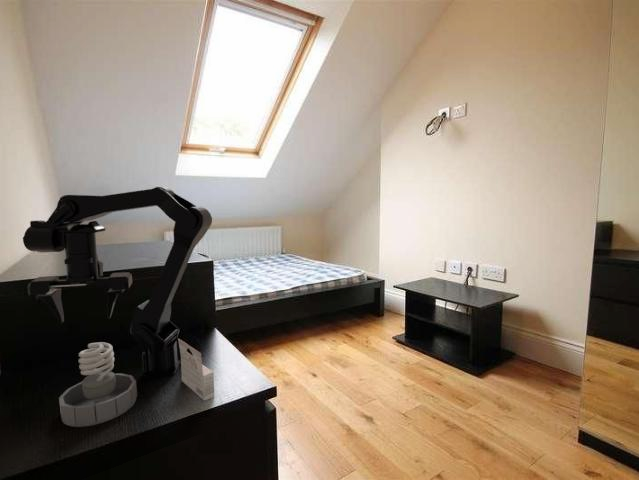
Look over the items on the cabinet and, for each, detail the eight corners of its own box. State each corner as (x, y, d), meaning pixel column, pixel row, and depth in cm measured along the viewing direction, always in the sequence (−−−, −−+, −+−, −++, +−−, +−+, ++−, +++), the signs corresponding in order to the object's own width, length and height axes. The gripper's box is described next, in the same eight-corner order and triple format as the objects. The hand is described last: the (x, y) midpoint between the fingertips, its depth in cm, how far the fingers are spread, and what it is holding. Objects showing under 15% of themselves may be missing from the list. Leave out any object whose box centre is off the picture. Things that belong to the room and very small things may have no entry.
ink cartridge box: (192, 377, 78) (189, 334, 76) (215, 397, 69) (212, 349, 68) (180, 381, 76) (177, 338, 75) (203, 402, 68) (200, 353, 67)
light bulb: (122, 403, 67) (117, 342, 66) (88, 417, 63) (82, 352, 61) (112, 393, 71) (107, 335, 69) (79, 405, 67) (73, 344, 65)
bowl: (144, 386, 74) (142, 370, 73) (124, 421, 62) (122, 402, 62) (80, 393, 72) (78, 377, 71) (47, 431, 60) (45, 412, 59)
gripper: (134, 245, 89) (137, 305, 91) (44, 247, 82) (50, 312, 84) (126, 252, 78) (130, 320, 80) (23, 256, 72) (30, 329, 74)
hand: (86, 319), depth 80 cm, fingers open, 9 cm apart
